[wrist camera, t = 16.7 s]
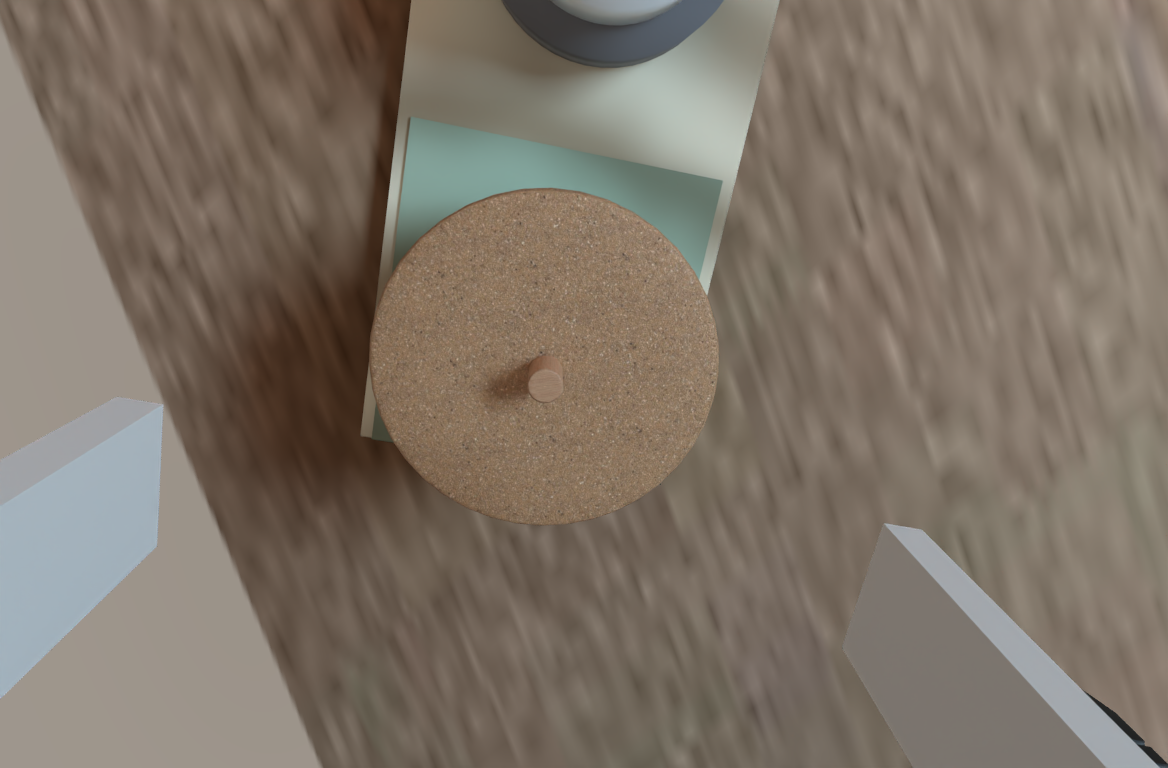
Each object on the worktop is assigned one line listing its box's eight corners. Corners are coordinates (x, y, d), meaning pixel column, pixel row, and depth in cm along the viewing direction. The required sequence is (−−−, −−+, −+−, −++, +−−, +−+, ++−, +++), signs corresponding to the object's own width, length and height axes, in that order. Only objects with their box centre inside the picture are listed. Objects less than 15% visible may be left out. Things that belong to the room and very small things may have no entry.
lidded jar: (688, 424, 32) (742, 531, 23) (438, 455, 32) (393, 573, 23) (668, 162, 29) (721, 168, 20) (389, 196, 29) (315, 217, 20)
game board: (657, 475, 34) (668, 511, 31) (366, 427, 33) (344, 459, 29) (812, -162, 27) (849, -206, 23) (446, -254, 26) (431, -315, 22)
